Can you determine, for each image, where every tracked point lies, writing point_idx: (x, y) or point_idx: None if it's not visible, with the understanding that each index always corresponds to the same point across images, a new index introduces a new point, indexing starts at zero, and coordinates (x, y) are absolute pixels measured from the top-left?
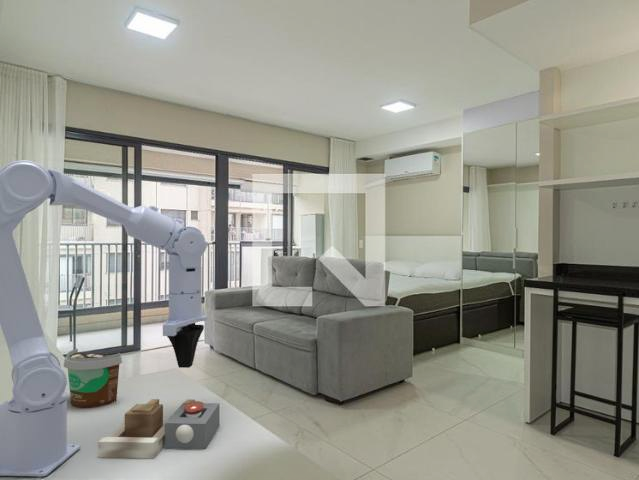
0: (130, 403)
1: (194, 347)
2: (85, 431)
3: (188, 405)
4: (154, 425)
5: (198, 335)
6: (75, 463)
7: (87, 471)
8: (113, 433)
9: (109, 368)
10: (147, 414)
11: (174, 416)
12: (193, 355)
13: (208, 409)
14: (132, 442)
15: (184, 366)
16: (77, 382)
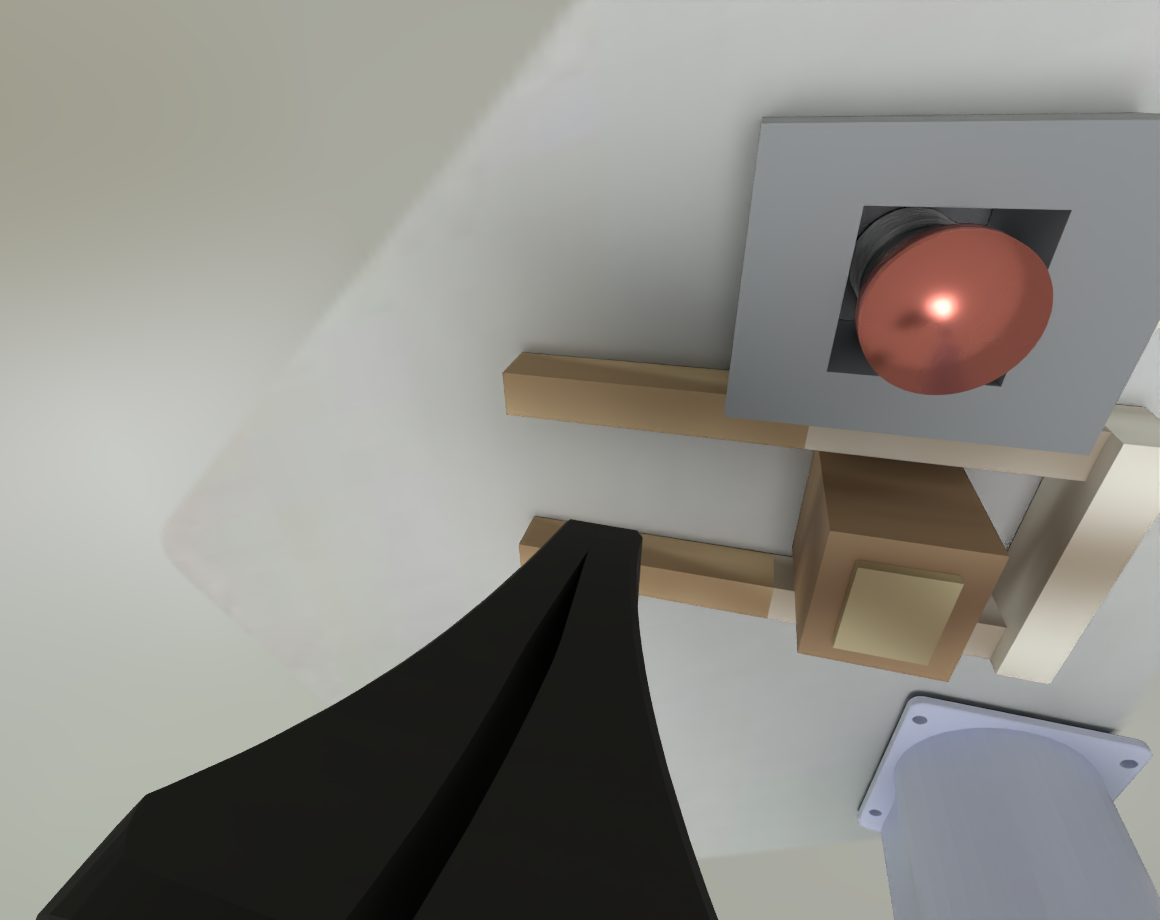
0: None
1: (520, 654)
2: (753, 701)
3: (950, 359)
4: (955, 501)
5: (393, 793)
6: None
7: (1154, 634)
8: None
9: None
10: (994, 581)
11: (977, 419)
12: (558, 582)
13: (896, 188)
14: (1127, 555)
15: (637, 578)
16: None
